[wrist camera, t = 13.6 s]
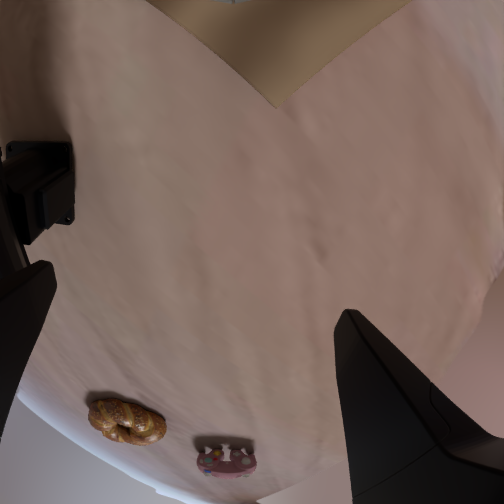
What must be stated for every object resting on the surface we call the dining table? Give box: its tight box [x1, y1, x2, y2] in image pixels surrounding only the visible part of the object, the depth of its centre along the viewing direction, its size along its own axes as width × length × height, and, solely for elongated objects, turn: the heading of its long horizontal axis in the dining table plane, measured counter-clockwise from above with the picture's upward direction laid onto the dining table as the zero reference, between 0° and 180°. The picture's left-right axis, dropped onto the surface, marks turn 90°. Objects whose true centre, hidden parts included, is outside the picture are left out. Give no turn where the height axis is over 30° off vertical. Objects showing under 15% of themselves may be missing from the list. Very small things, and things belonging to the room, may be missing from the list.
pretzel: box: [88, 399, 167, 446], centre depth 36 cm, size 12×11×4 cm
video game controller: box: [197, 449, 257, 479], centre depth 41 cm, size 10×5×7 cm, turn 85°
